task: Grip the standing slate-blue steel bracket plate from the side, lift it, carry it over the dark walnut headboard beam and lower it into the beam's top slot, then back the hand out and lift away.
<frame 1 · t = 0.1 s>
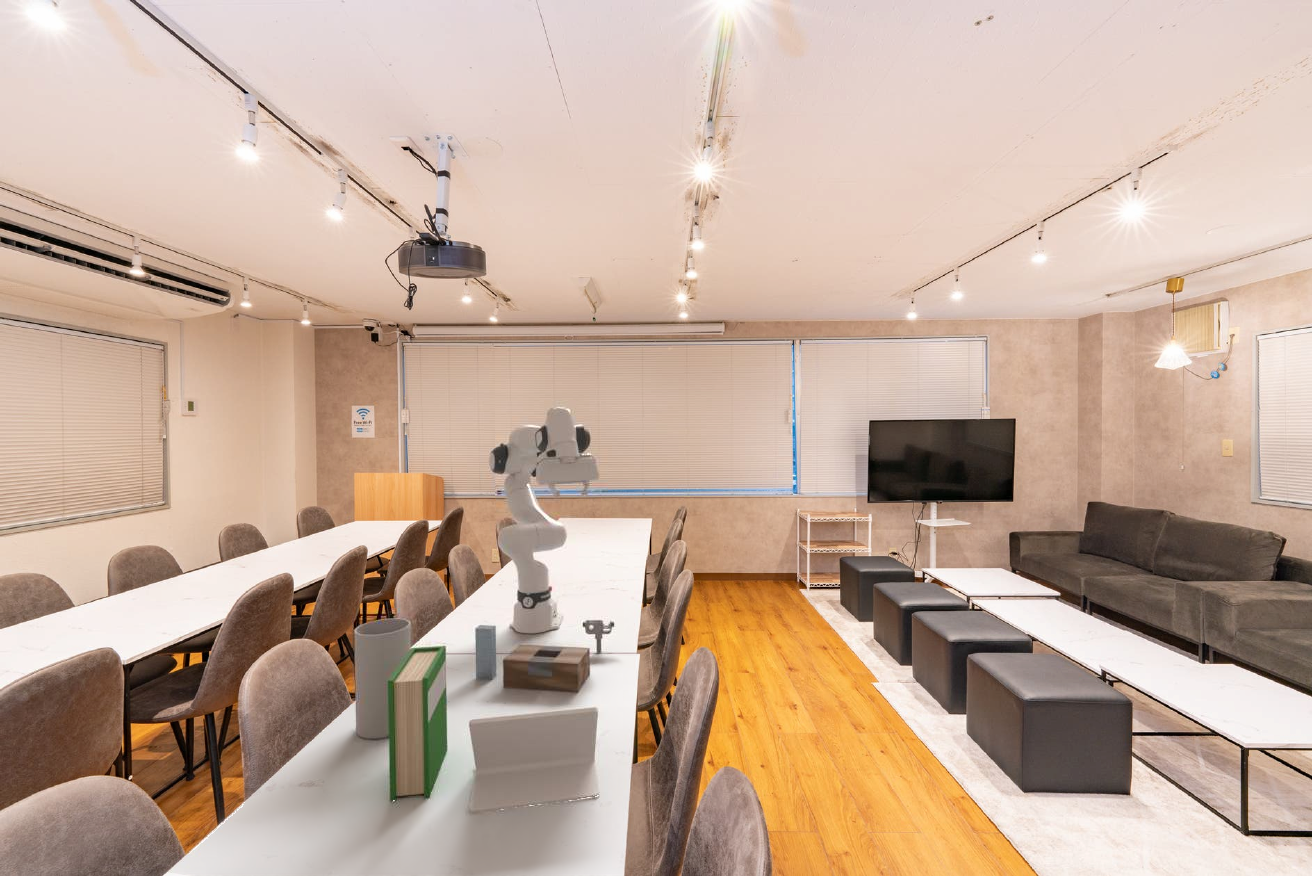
hand: (571, 496, 184), 52 cm above the table, tool tilted 20°, fingers open, 8 cm apart
cylinder vase: (384, 728, 144), on the table
mechanical component: (598, 652, 192), on the table
hardback book: (420, 775, 124), on the table
bracket: (486, 677, 173), on the table
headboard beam: (547, 681, 170), on the table
tablet stand: (536, 780, 122), on the table
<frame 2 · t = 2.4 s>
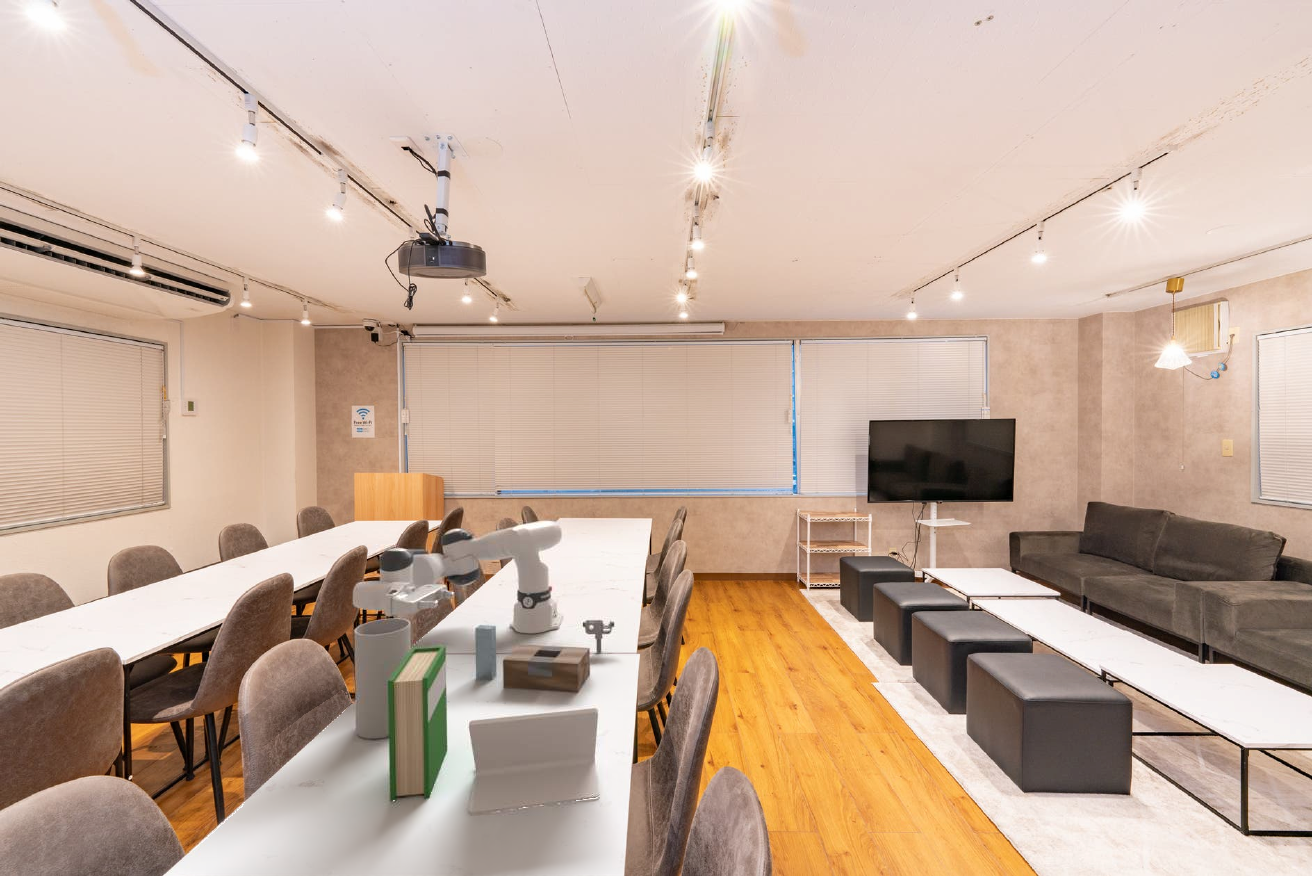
hand: (445, 599, 174), 23 cm above the table, tool horizontal, fingers open, 8 cm apart
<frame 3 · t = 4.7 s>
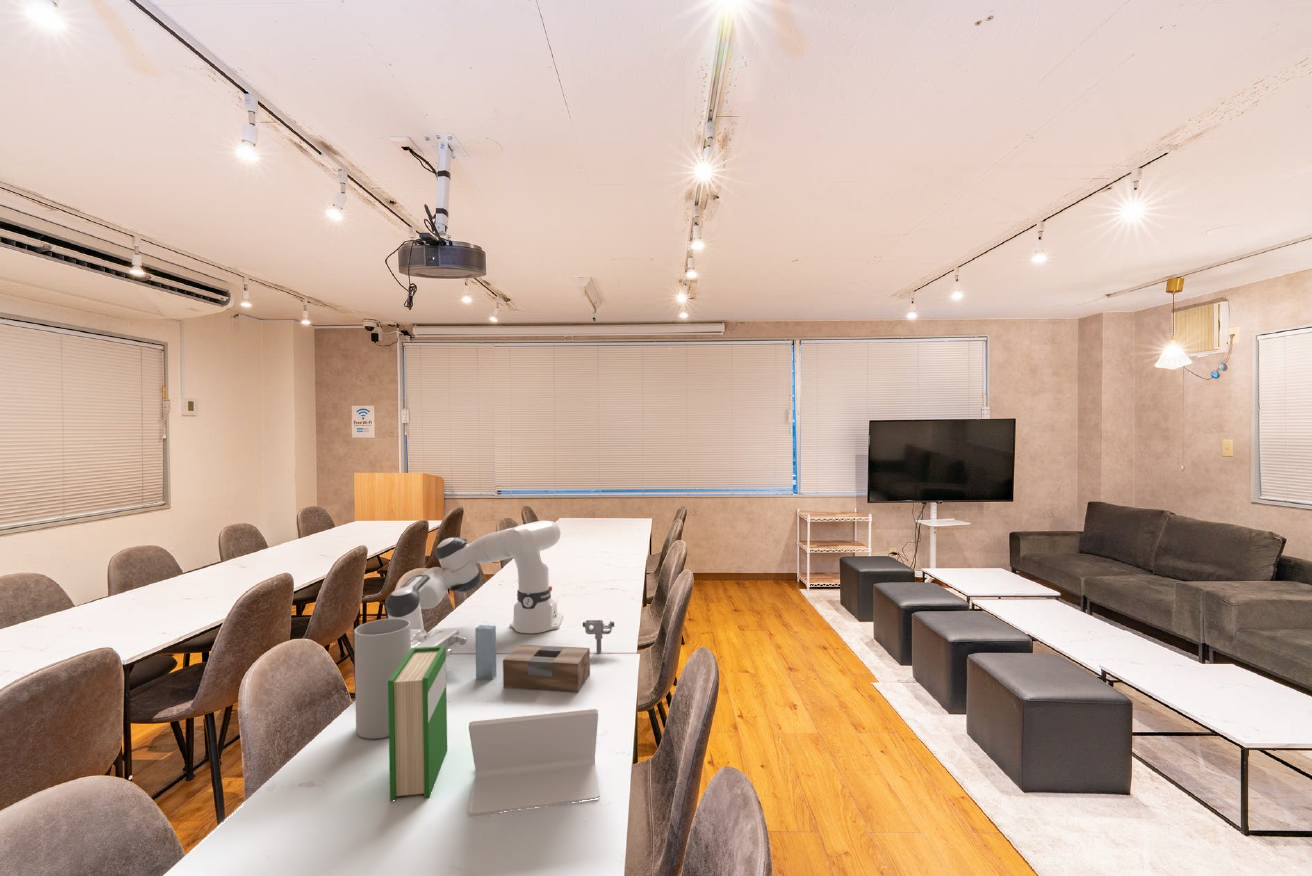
hand: (458, 646, 174), 9 cm above the table, tool horizontal, fingers open, 8 cm apart
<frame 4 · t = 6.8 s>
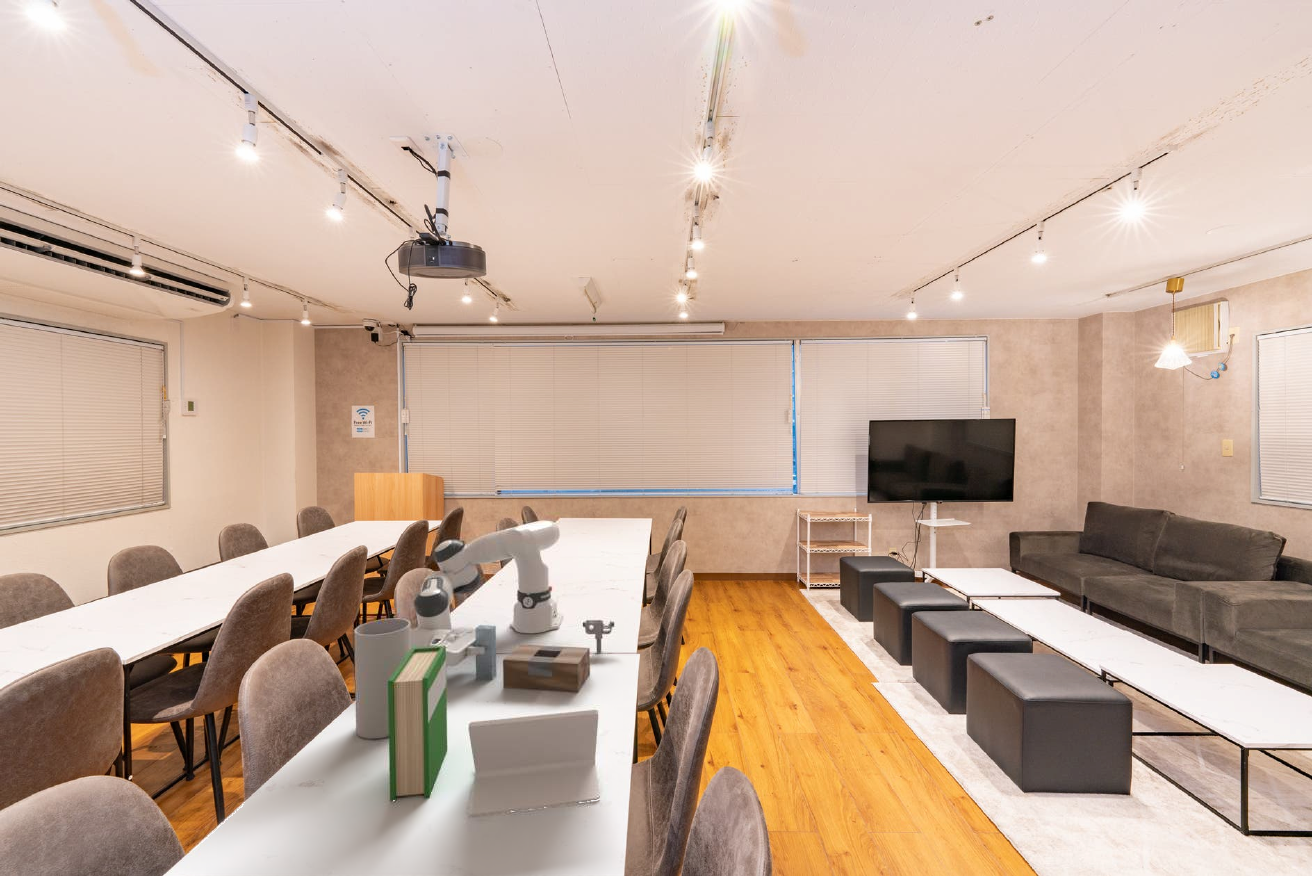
hand: (488, 647, 172), 9 cm above the table, tool horizontal, fingers closed on bracket, 3 cm apart
bracket: (486, 677, 173), on the table, touching gripper
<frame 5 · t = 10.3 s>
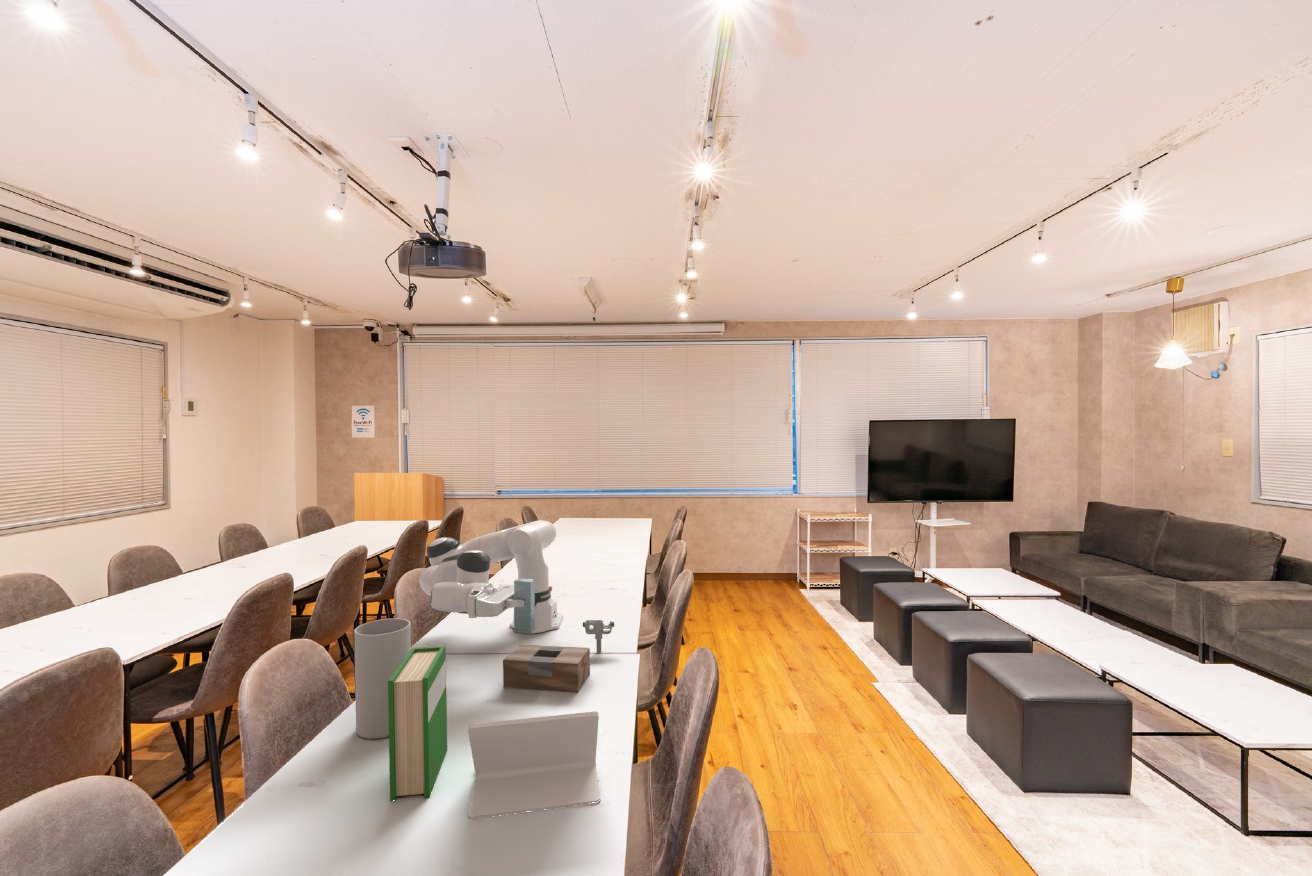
hand: (527, 600, 169), 24 cm above the table, tool horizontal, fingers closed on bracket, 3 cm apart
bracket: (524, 631, 169), point 15 cm above the table, touching gripper
when the fingers open (14 cm above the table, at t = 13.4 s): bracket drops 1 cm, resting on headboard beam.
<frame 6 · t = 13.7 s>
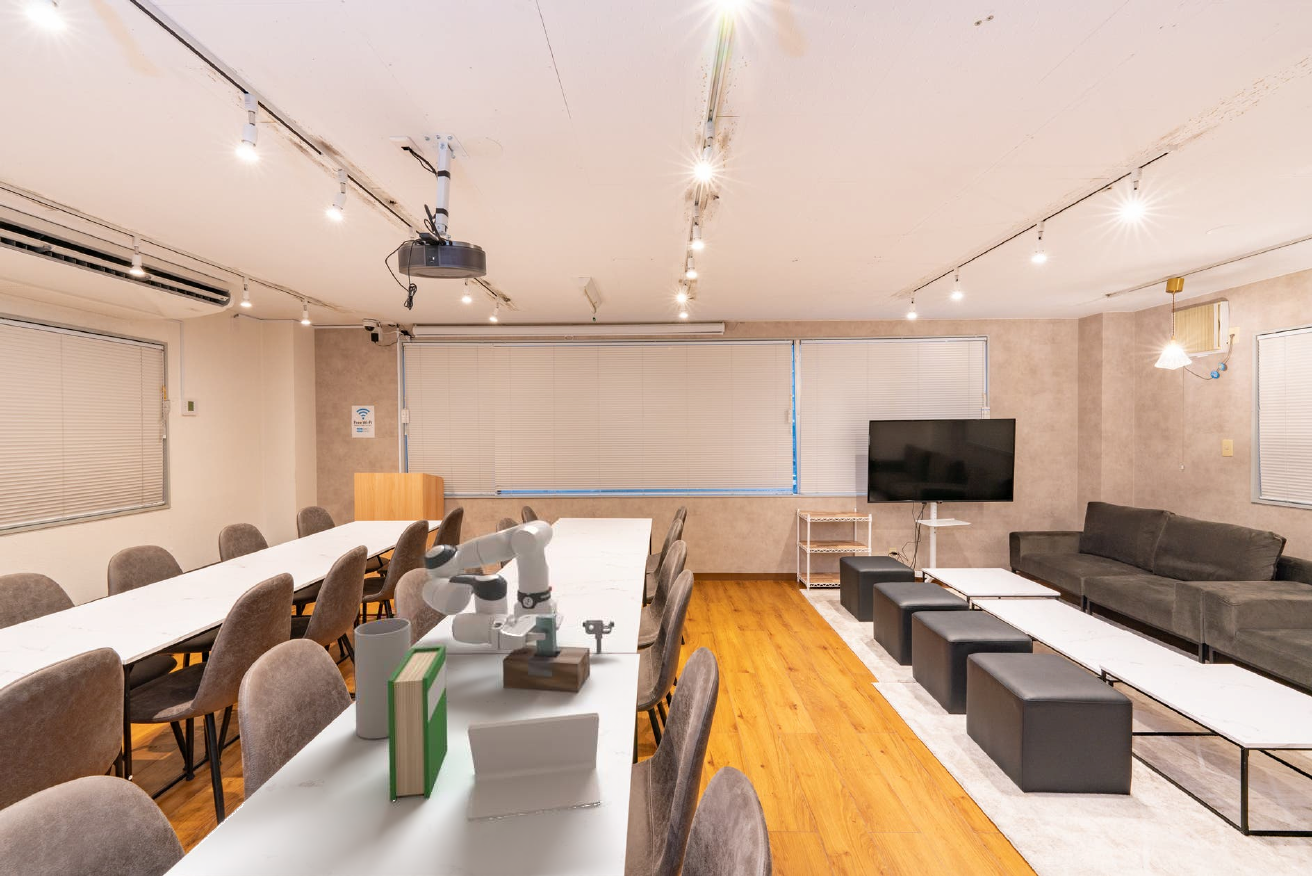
hand: (549, 631, 169), 14 cm above the table, tool horizontal, fingers open, 6 cm apart
bracket: (547, 667, 170), point 4 cm above the table, touching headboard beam
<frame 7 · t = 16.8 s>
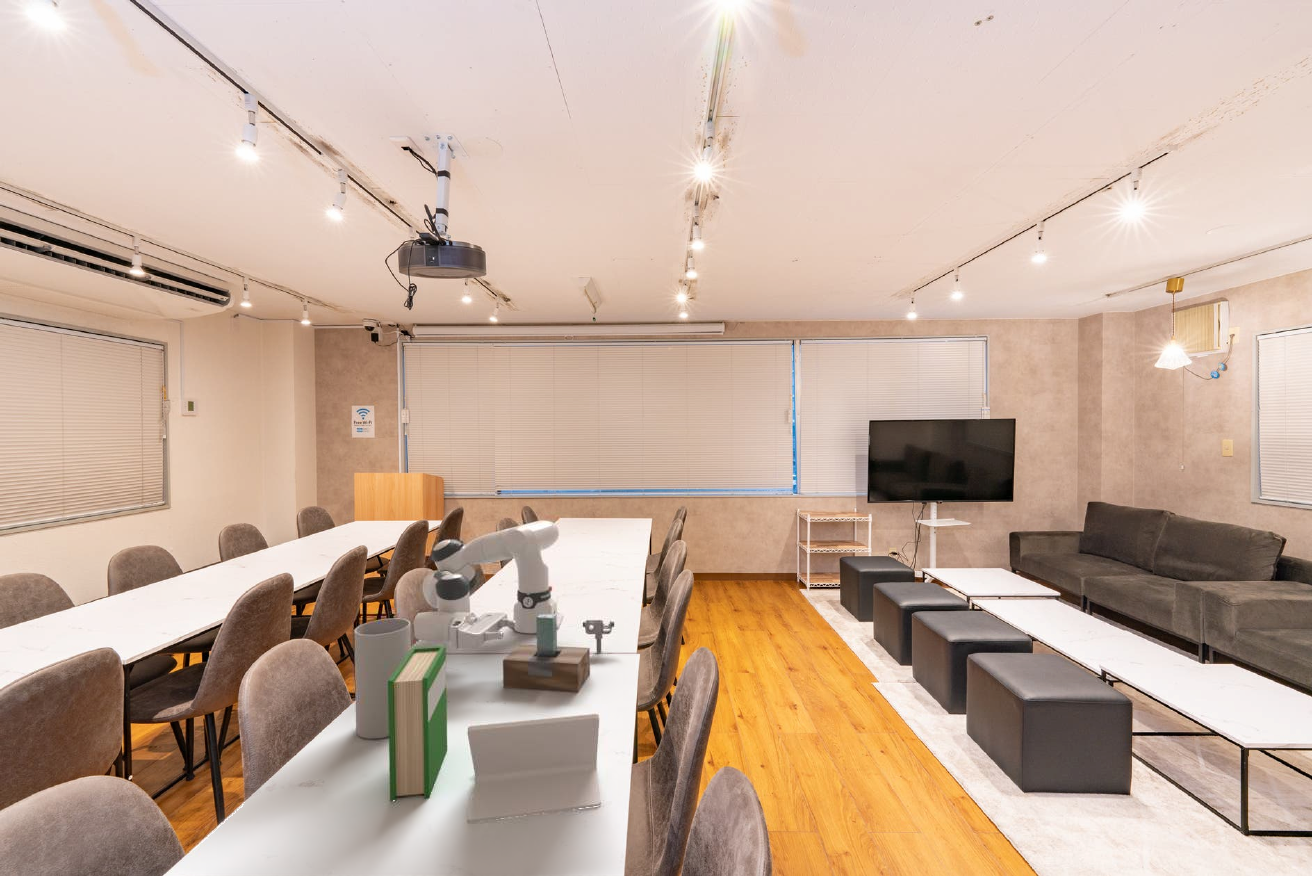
hand: (509, 629, 171), 14 cm above the table, tool horizontal, fingers open, 8 cm apart
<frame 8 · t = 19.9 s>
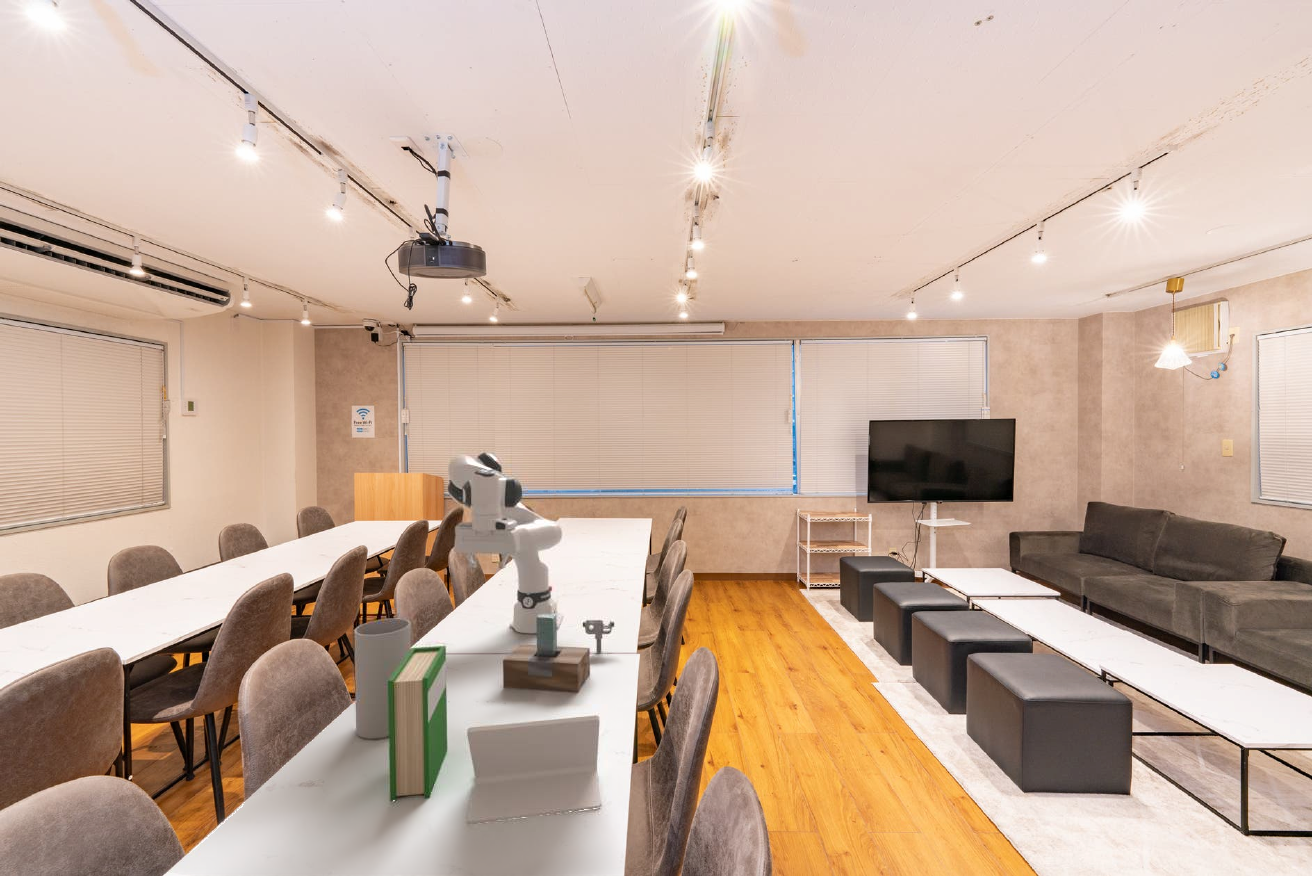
hand: (487, 567, 179), 31 cm above the table, tool pointing down, fingers open, 8 cm apart
at the end: bracket 0.1 cm off-centre on the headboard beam, point 4.0 cm above the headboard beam's base; bracket tilted 0°; the gripper is holding nothing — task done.
